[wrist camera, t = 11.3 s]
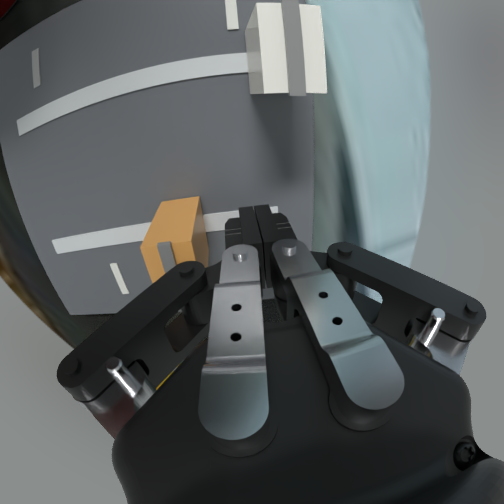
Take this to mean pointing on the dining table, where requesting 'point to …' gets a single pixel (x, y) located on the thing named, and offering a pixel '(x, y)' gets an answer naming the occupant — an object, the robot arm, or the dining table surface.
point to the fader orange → (175, 237)
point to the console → (143, 137)
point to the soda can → (6, 6)
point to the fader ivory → (286, 49)
